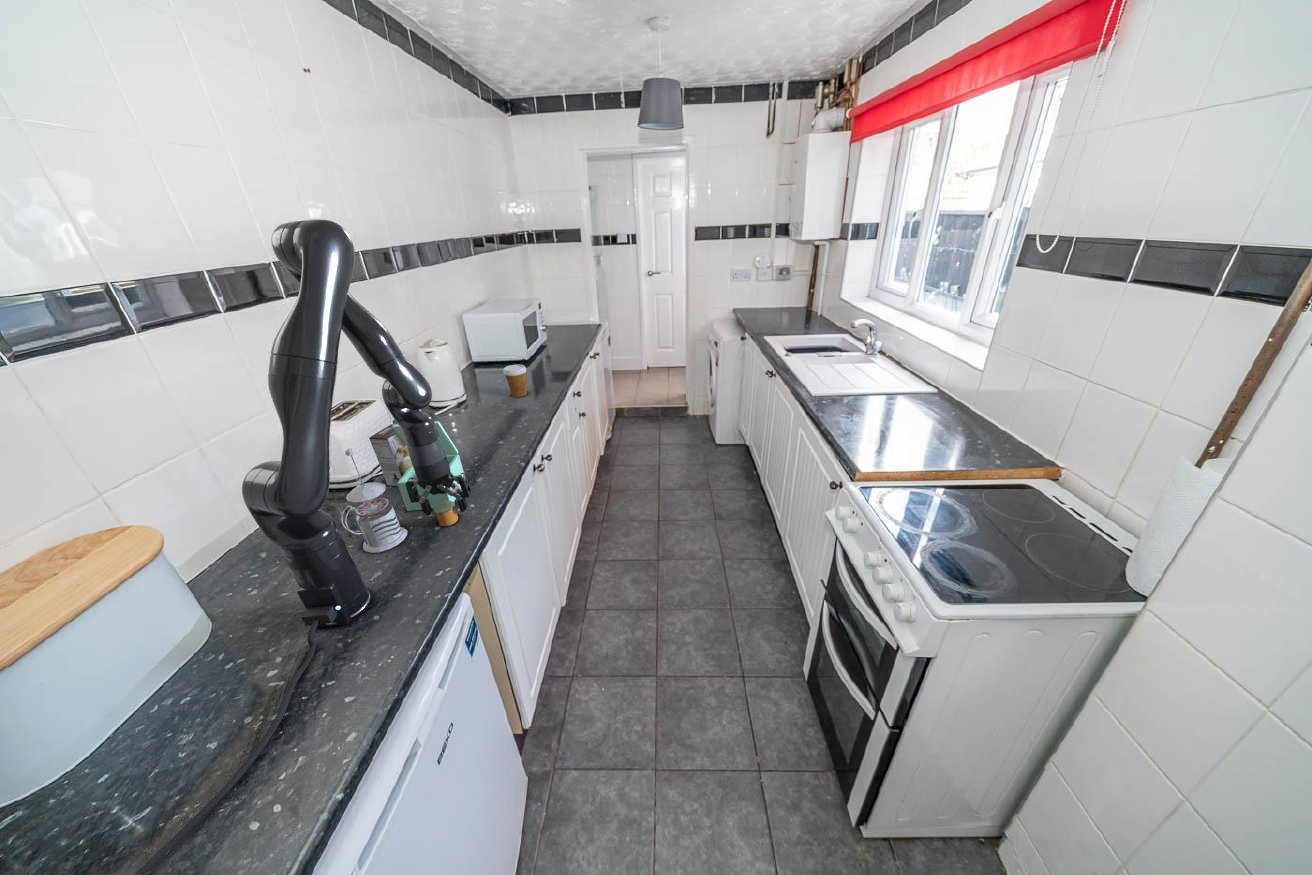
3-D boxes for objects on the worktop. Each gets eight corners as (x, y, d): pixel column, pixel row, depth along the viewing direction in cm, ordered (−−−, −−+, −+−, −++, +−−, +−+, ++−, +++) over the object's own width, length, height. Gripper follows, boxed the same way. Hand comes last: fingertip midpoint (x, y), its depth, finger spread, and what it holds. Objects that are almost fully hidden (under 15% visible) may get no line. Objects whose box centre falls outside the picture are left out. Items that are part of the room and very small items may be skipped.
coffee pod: (455, 525, 114) (451, 511, 112) (435, 527, 114) (430, 513, 112) (461, 513, 118) (457, 499, 116) (442, 515, 118) (437, 501, 116)
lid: (438, 423, 117) (441, 406, 121) (392, 427, 117) (397, 410, 120) (458, 453, 129) (461, 437, 132) (416, 457, 129) (420, 441, 132)
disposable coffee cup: (506, 393, 198) (501, 366, 192) (528, 388, 201) (523, 362, 196) (510, 400, 190) (504, 372, 184) (532, 395, 193) (527, 368, 188)
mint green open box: (451, 506, 122) (442, 479, 118) (407, 510, 121) (397, 483, 117) (466, 480, 134) (458, 454, 130) (425, 483, 133) (417, 457, 129)
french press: (416, 533, 112) (383, 444, 101) (369, 562, 103) (328, 468, 92) (392, 522, 117) (359, 435, 105) (346, 549, 108) (304, 458, 97)
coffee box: (407, 469, 141) (391, 423, 134) (425, 471, 140) (410, 424, 132) (386, 485, 133) (368, 437, 126) (405, 487, 132) (387, 438, 124)
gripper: (391, 467, 104) (412, 523, 112) (454, 462, 105) (471, 518, 112) (404, 452, 111) (423, 505, 118) (463, 446, 111) (478, 500, 119)
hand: (446, 511), depth 115 cm, fingers open, 8 cm apart
